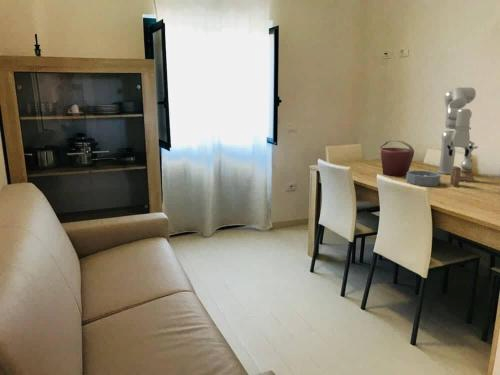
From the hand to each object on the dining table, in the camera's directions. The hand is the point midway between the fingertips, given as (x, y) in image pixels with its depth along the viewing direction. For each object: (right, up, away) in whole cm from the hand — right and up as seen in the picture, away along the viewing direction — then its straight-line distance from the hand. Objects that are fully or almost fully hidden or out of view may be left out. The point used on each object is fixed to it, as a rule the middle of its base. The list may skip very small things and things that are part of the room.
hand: (458, 155), depth 251 cm
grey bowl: (-18, -17, +11) cm, 27 cm away
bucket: (-27, -11, +38) cm, 48 cm away
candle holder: (+15, -16, +19) cm, 29 cm away
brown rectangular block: (0, -19, +5) cm, 20 cm away
